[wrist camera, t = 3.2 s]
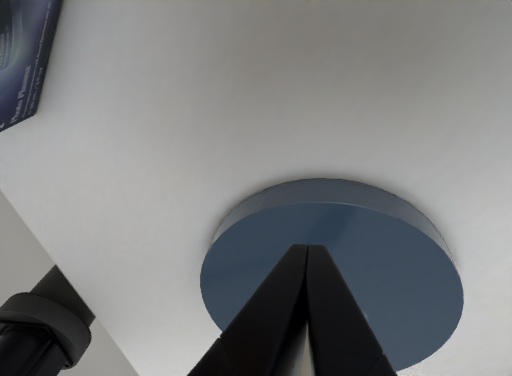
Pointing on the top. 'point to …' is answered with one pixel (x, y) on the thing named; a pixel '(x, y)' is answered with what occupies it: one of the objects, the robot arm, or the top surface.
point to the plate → (343, 259)
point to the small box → (23, 55)
